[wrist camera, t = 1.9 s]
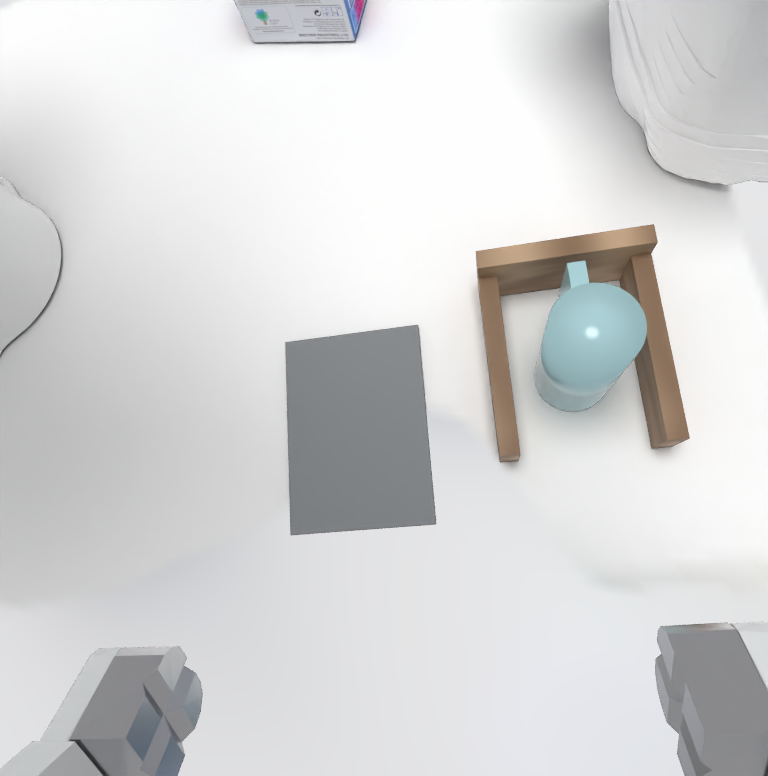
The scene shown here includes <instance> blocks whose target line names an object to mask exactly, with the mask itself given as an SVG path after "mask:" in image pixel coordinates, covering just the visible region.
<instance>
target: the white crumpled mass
mask: <svg viewBox="0 0 768 776" xmlns="http://www.w3.org/2000/svg"><path fill="white" fill-rule="evenodd" d="M609 31H610V41H609V42H610V51H611V66H612V76H613V81H614V87H615V91H616V94H617V97H618V99H619V102H620V104H621V106H622V107H623V108H624V110H625V111H626V112H627V113H628V114H629V115H630V116H631V117H633V118H634V119H635V120H636V121H637V122H638V123H639V125H640V126H641V127H642V129H643V130H644V133H645V137H646V141H647V146H648V149H649V152H650V154H651V156H652V157H653V158H654V160H655V161H656V162H657V163H658V164H659V165H660V166H661V167H662V168H663V169H664V170H667V171H669V172H672V173H674V174H676V175H679V176H681V177H683V178H691V179H696V180H701V181H706V182H709V183H721V184H725V185H731V184H736V183H740V182H744V181H750V180H755V181H758V182H768V0H609Z"/></svg>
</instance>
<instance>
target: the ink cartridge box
mask: <svg viewBox="0 0 768 776" xmlns="http://www.w3.org/2000/svg"><path fill="white" fill-rule="evenodd" d="M234 2H235V4H236V6H237V8H238V10H239V12H240V14H241V17H242V19H243V21H244V23H245V25H246V27H247V29H248V32H249V34H250V36H251V38H252V41H253V42H307V41H354V40H355V39H356V35H357V31H358V28H359V24H360V21H361V17H362V14H363V10H364V7H365V3H366V0H234Z"/></svg>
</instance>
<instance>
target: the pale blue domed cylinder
mask: <svg viewBox="0 0 768 776" xmlns="http://www.w3.org/2000/svg"><path fill="white" fill-rule="evenodd" d="M558 296H559V299H558V300H557V301H556V302H555V304H554V305H553V307H552V309H551V311H550V314H549V318H548V322H547V325H546V329H545V333H544V337H543V341H542V345H541V349H540V353H539V357H538V361H537V365H536V369H535V384H536V387H537V390H538V392H539V394H540V395H541V397H542V398H543V399H544V400H545V401H546V402H547V403H548V404H550V405H551V406H553V407H555V408H557V409H560V410H563V411H570V412H575V411H582V410H585V409H588V408H590V407H592V406H593V405H595V404H596V403H597V402H599V401H600V399H601V398H602V397H603V396H604V395H605V393H606V392H607V391H608V390H609V389H610V387H611V386H612V385H613V384H614V382H615V381H616V380H617V379H618V378H619V376H620V375H621V374H622V373H623V371H624V370H625V369H626V368H627V367H628V365H629V364H630V363H631V362H632V360H633V359H634V358H635V357H636V356H637V354H638V353H639V351H640V350H641V348H642V346H643V345H644V342H645V339H646V334H647V322H646V317H645V314H644V312H643V309H642V308H641V306H640V304H639V303H638V302H637V300H636V299H635V298H634V297H633V296H632V295H631V294H629V293H628V292H626V291H625V290H623V289H621V288H619V287H617V286H614V285H611V284H606V283H589V278H588V273H587V267H586V261H578V262H571V263H567V265H566V269H565V273H564V276H563V280H562V284H561V287H560V291H559V295H558Z"/></svg>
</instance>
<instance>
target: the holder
mask: <svg viewBox="0 0 768 776" xmlns="http://www.w3.org/2000/svg"><path fill="white" fill-rule="evenodd" d="M657 242H658V241H657V237H656V232H655V227H654V224H653V225H646V226H640V227H633V228H626V229H620V230H613V231H607V232H600V233H593V234H587V235H580V236H574V237H567V238H560V239H554V240H547V241H541V242H534V243H527V244H521V245H514V246H508V247H501V248H494V249H488V250H481V251H476V261H477V276H478V287H479V296H480V304H481V312H482V320H483V329H484V337H485V345H486V353H487V362H488V370H489V378H490V386H491V395H492V403H493V411H494V419H495V428H496V436H497V444H498V452H499V461H500V462H509V461H518V459H519V456H520V448H519V440H518V433H517V425H516V417H515V410H514V402H513V395H512V387H511V379H510V372H509V364H508V356H507V349H506V341H505V333H504V326H503V318H502V311H501V303H500V296H504V295H511V294H518V293H525V292H533V291H540V290H547V289H554V288H560V287H561V284H562V280H563V276H564V273H565V269H566V265H567V263H571V262H578V261H586V267H587V273H588V278H589V283H598V282H605V281H613V280H620V284H621V289H623V290H625V291H626V292H628V293H629V294H631V295H632V296H633V297H634V298H635V299H636V300H637V302H638V303H639V304H640V306H641V308H642V309H643V312H644V314H645V317H646V322H647V334H646V339H645V342H644V345H643V346H642V348H641V350H640V351H639V353H638V354H637V356H636V357H635V363H636V369H637V374H638V379H639V384H640V390H641V395H642V400H643V405H644V411H645V416H646V421H647V426H648V432H649V437H650V442H651V447H652V448H663V447H672V446H674V445H676V444H679V443H681V442H683V441H685V440H687V439H689V433H688V428H687V423H686V418H685V414H684V409H683V404H682V399H681V394H680V390H679V385H678V380H677V375H676V370H675V366H674V361H673V356H672V351H671V346H670V342H669V337H668V332H667V327H666V322H665V318H664V313H663V308H662V303H661V298H660V294H659V289H658V284H657V279H656V274H655V270H654V265H653V260H652V255H651V253H652V251H653V249H654V248H655V246H656V244H657Z"/></svg>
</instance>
